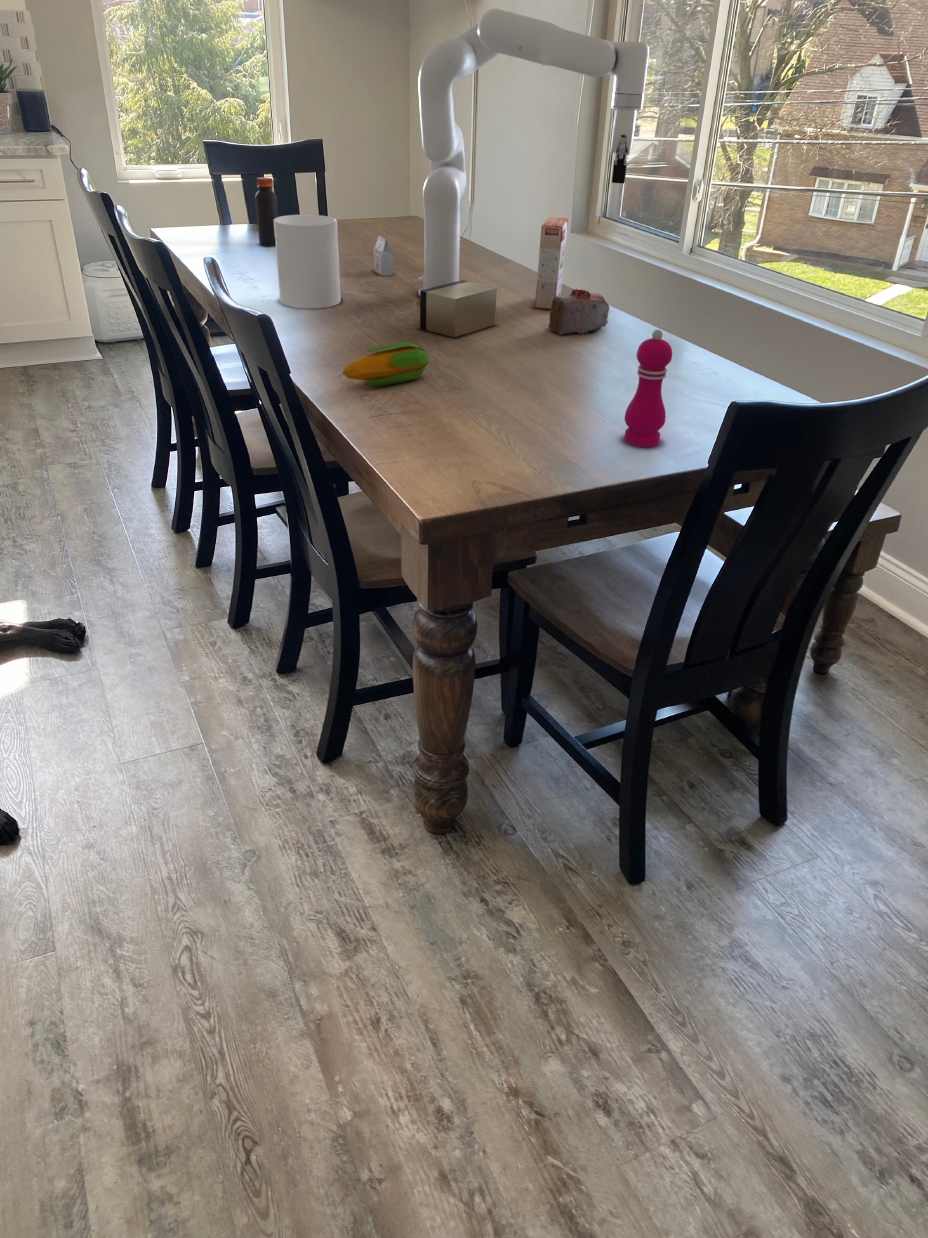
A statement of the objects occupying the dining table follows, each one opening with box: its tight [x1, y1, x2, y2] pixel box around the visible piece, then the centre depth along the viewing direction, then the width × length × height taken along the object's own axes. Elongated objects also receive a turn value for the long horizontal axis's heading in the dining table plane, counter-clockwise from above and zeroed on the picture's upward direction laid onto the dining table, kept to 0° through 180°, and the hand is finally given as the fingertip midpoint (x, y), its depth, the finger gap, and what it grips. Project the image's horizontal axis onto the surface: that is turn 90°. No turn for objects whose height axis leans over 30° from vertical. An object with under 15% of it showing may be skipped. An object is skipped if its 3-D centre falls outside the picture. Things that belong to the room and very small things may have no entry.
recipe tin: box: [415, 279, 498, 338], centre depth 219 cm, size 16×16×9 cm
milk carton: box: [372, 235, 394, 277], centre depth 265 cm, size 4×7×10 cm, turn 24°
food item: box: [547, 288, 610, 336], centre depth 219 cm, size 14×8×10 cm, turn 118°
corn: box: [341, 341, 430, 387], centre depth 183 cm, size 7×8×20 cm
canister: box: [274, 214, 342, 310], centre depth 232 cm, size 16×16×20 cm
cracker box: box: [534, 216, 569, 310], centre depth 237 cm, size 14×6×21 cm, turn 168°
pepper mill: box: [624, 329, 673, 448], centre depth 156 cm, size 7×7×20 cm
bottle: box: [255, 177, 279, 247], centre depth 292 cm, size 7×7×20 cm
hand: (618, 180), depth 225 cm, fingers open, 9 cm apart
